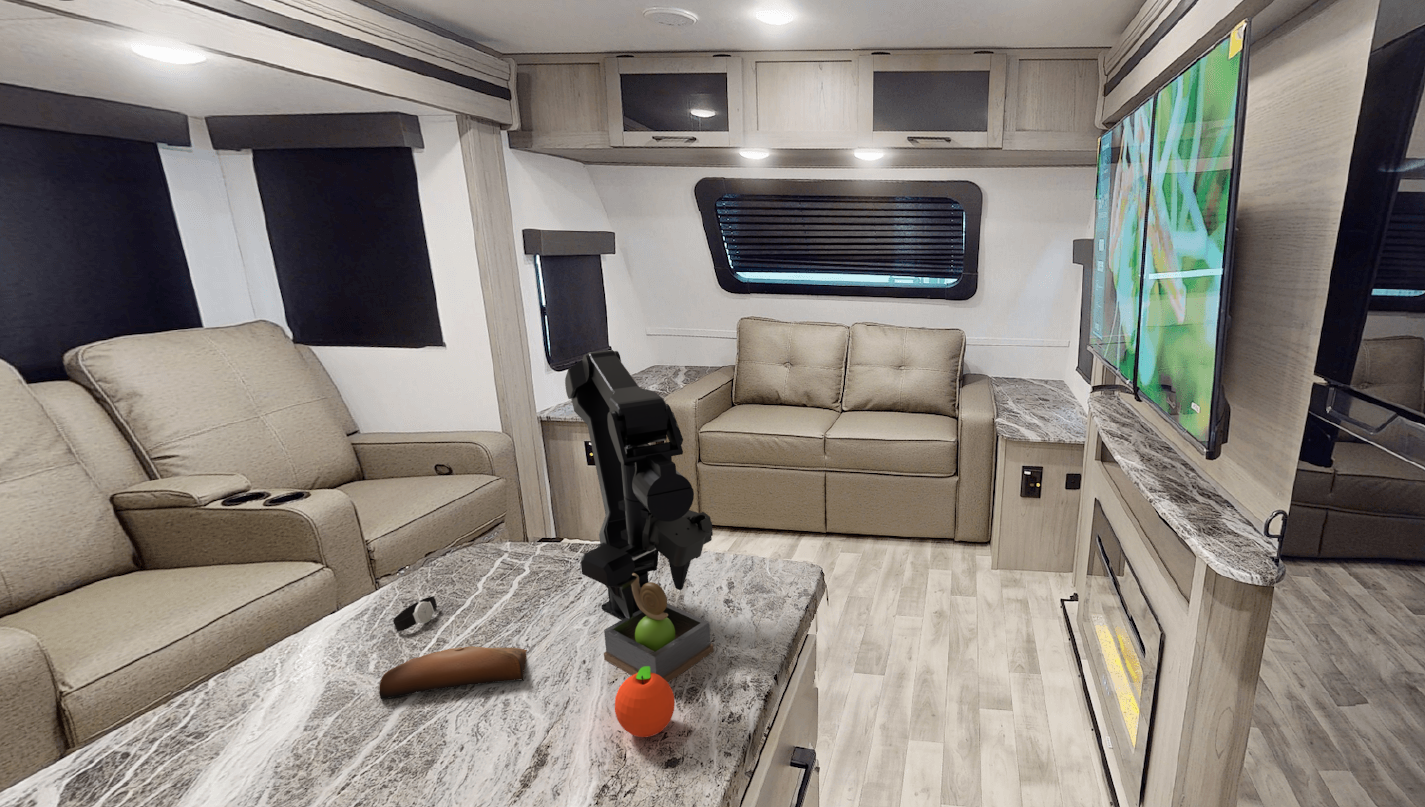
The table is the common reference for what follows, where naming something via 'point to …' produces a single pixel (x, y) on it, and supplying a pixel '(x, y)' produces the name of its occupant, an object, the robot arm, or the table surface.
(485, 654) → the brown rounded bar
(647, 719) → the clementine
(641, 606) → the snail figurine
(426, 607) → the watch
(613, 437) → the robot arm
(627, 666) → the grey planter box
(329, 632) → the table surface
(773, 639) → the table surface
